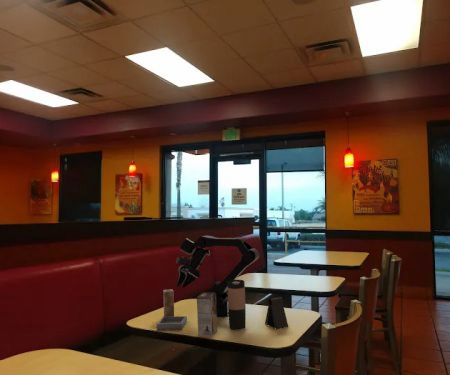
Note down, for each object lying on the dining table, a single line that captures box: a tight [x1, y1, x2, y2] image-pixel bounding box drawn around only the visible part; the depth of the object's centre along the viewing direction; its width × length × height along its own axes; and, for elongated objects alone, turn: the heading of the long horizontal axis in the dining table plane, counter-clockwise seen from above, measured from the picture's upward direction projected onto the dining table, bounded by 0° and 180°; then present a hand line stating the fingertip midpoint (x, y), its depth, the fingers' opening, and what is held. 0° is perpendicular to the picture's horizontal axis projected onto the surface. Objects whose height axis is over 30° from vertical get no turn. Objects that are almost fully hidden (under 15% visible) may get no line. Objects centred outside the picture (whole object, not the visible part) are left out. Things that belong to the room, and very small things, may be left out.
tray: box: [156, 315, 188, 331], centre depth 171 cm, size 11×11×2 cm
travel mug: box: [227, 279, 247, 331], centre depth 166 cm, size 8×8×20 cm
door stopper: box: [264, 296, 289, 330], centre depth 167 cm, size 9×6×12 cm, turn 29°
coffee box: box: [196, 291, 218, 338], centre depth 160 cm, size 9×6×16 cm
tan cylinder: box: [162, 288, 175, 316], centre depth 183 cm, size 4×4×13 cm
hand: (179, 286), depth 183 cm, fingers open, 9 cm apart
